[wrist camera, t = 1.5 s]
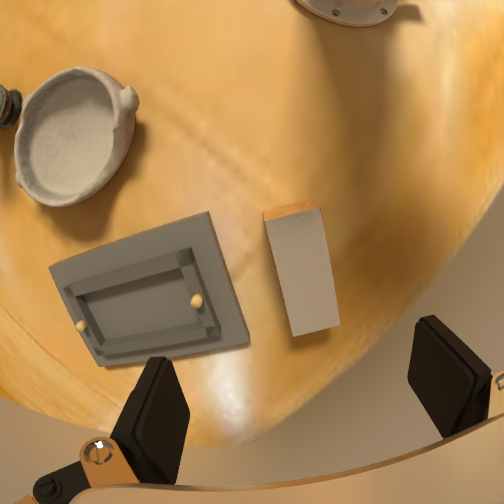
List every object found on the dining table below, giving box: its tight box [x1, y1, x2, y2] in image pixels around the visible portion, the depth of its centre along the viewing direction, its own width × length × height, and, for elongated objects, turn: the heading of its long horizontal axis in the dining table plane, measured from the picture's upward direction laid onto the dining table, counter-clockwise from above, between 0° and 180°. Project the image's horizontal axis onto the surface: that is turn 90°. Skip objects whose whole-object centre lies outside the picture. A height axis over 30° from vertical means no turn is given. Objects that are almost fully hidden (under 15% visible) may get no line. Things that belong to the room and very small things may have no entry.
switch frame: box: [48, 211, 250, 367], centre depth 29 cm, size 20×14×4 cm
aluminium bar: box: [263, 200, 340, 337], centre depth 27 cm, size 4×11×5 cm, turn 15°
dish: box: [14, 67, 139, 207], centre depth 23 cm, size 14×14×5 cm
